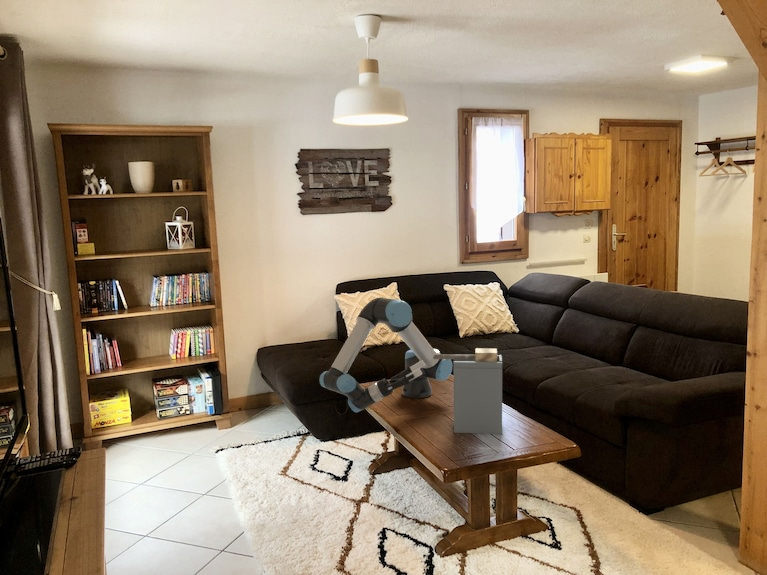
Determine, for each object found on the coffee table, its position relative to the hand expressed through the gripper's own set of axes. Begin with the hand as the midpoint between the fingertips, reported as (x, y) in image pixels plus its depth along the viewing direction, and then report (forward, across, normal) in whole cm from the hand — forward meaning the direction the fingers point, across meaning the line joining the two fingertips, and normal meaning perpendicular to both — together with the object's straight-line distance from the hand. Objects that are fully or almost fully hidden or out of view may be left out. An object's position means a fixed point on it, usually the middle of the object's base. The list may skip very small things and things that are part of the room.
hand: (422, 366), depth 266 cm
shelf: (+7, 0, -35) cm, 35 cm away
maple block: (+16, 0, -8) cm, 18 cm away
